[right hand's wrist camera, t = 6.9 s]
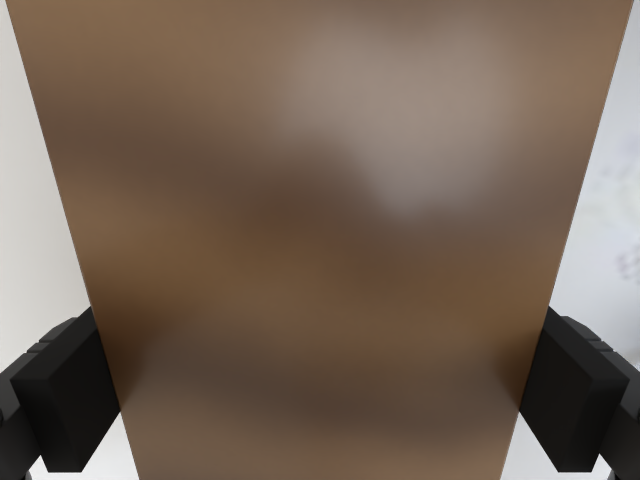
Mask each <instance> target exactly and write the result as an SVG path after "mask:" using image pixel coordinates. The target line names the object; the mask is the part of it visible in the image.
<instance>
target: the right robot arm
mask: <svg viewBox="0 0 640 480" xmlns="http://www.w3.org/2000/svg"><path fill="white" fill-rule="evenodd" d="M519 412H520V413H521V415H522V416H523V418H524V419H525V421H526V423H527V424H528V426H529V427H530V429H531V430H532V432H533V433H534V435H535V437H536V438H537V440H538V441H539V443H540V444H541V446H542V448H543V449H544V451H545V452H546V454H547V455H548V457H549V459H550V460H551V462H552V463H553V465H554V466H555V468H556V470H557V471H558V472H592V470H593V467H594V465H595V462H596V460H597V458H598V455H599V453H600V455H601V456H602V457H603V458H604V460H605V461H606V462H607V463H608V465H609V466H610V467H611V469H612V470H611V472H610V475H609V477H608V479H607V480H640V372H639V371H638V370H637V369H636V368H634V367H633V366H632V365H631V364H630V363H629V362H627V361H626V360H625V359H624V358H623V357H622V356H620V355H619V354H618V353H617V352H613V349H612V348H611V347H610V346H609V345H608V344H606V343H605V342H604V341H601V338H599V337H598V336H597V335H596V334H595V333H594V332H592V331H591V330H590V329H589V328H588V327H586V326H585V325H583V324H581V323H579V322H577V321H575V320H573V319H572V318H570V317H568V316H560V315H558V314H557V313H556V312H555V311H554V310H553V309H552V308H551V307H550V306H548V310H547V313H546V317H545V320H544V324H543V327H542V331H541V335H540V338H539V342H538V345H537V349H536V353H535V356H534V360H533V363H532V367H531V370H530V374H529V378H528V381H527V385H526V388H525V392H524V396H523V399H522V403H521V406H520V410H519ZM119 413H120V408H119V405H118V401H117V397H116V394H115V390H114V387H113V383H112V380H111V376H110V372H109V369H108V365H107V362H106V358H105V355H104V351H103V347H102V344H101V340H100V337H99V333H98V330H97V326H96V322H95V319H94V315H93V312H92V308H91V306H90V307H89V308H88V309H87V310H86V311H85V312H83V313H82V314H81V315H80V316H79V317H78V318H71V319H69V320H67V321H65V322H63V323H61V324H60V325H58V326H56V327H54V328H53V329H51V330H50V331H49V332H48V333H47V334H46V335H44V336H43V337H42V338H41V339H40V340H39V343H35V344H34V345H33V346H32V347H31V348H29V349H28V350H27V353H24V354H22V355H21V356H20V357H19V358H18V359H17V360H15V361H14V362H13V363H12V364H11V365H10V366H8V367H7V368H6V369H5V370H4V371H3V372H1V373H0V480H32V478H31V475H30V472H29V469H30V468H31V466H32V465H33V464H34V462H35V461H36V460H37V459H38V457H39V456H40V455H41V457H42V459H43V461H44V464H45V466H46V468H47V471H48V472H82V471H83V469H84V467H85V466H86V464H87V463H88V461H89V460H90V458H91V456H92V455H93V453H94V452H95V450H96V449H97V447H98V445H99V444H100V442H101V441H102V439H103V438H104V436H105V434H106V433H107V431H108V430H109V428H110V427H111V425H112V424H113V422H114V420H115V419H116V417H117V416H118V414H119Z"/></svg>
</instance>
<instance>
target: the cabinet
mask: <svg viewBox="0 0 640 480" xmlns="http://www.w3.org/2000/svg"><path fill="white" fill-rule="evenodd" d="M633 1H634V0H6V4H7V8H8V11H9V15H10V18H11V22H12V25H13V29H14V33H15V36H16V40H17V43H18V47H19V51H20V54H21V58H22V61H23V65H24V68H25V72H26V76H27V79H28V83H29V86H30V90H31V93H32V97H33V101H34V104H35V108H36V111H37V115H38V118H39V122H40V126H41V129H42V133H43V136H44V140H45V144H46V147H47V151H48V154H49V158H50V161H51V165H52V169H53V172H54V176H55V179H56V183H57V186H58V190H59V194H60V197H61V201H62V204H63V208H64V211H65V215H66V219H67V222H68V226H69V229H70V233H71V237H72V240H73V244H74V247H75V251H76V254H77V258H78V262H79V265H80V269H81V272H82V276H83V279H84V283H85V287H86V290H87V294H88V297H89V301H90V304H91V308H92V312H93V315H94V319H95V322H96V326H97V330H98V333H99V337H100V340H101V344H102V347H103V351H104V355H105V358H106V362H107V365H108V369H109V372H110V376H111V380H112V383H113V387H114V390H115V394H116V397H117V401H118V405H119V408H120V412H121V415H122V419H123V423H124V426H125V430H126V433H127V437H128V440H129V444H130V448H131V451H132V455H133V458H134V462H135V465H136V469H137V473H138V476H139V480H500V478H501V474H502V471H503V467H504V464H505V460H506V456H507V453H508V449H509V446H510V442H511V439H512V435H513V431H514V428H515V424H516V421H517V417H518V413H519V410H520V406H521V403H522V399H523V396H524V392H525V388H526V385H527V381H528V378H529V374H530V370H531V367H532V363H533V360H534V356H535V353H536V349H537V345H538V342H539V338H540V335H541V331H542V327H543V324H544V320H545V317H546V313H547V310H548V306H549V302H550V299H551V295H552V292H553V288H554V284H555V281H556V277H557V274H558V270H559V267H560V263H561V259H562V256H563V252H564V249H565V245H566V241H567V238H568V234H569V231H570V227H571V224H572V220H573V216H574V213H575V209H576V206H577V202H578V198H579V195H580V191H581V188H582V184H583V181H584V177H585V173H586V170H587V166H588V163H589V159H590V155H591V152H592V148H593V145H594V141H595V138H596V134H597V130H598V127H599V123H600V120H601V116H602V112H603V109H604V105H605V102H606V98H607V95H608V91H609V87H610V84H611V80H612V77H613V73H614V69H615V66H616V62H617V59H618V55H619V51H620V48H621V44H622V41H623V37H624V34H625V30H626V26H627V23H628V19H629V16H630V12H631V8H632V5H633Z"/></svg>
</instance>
